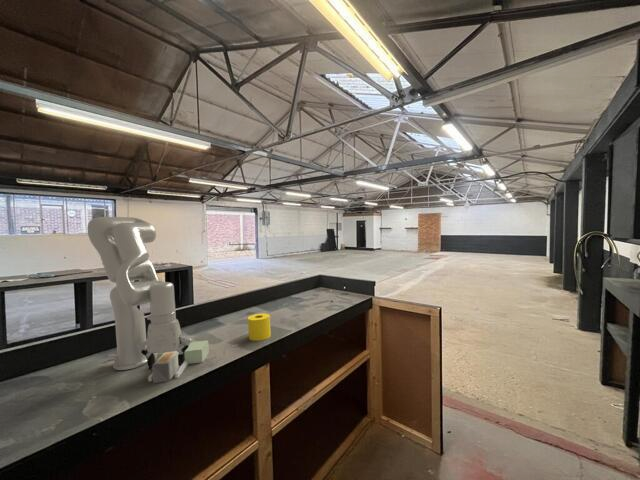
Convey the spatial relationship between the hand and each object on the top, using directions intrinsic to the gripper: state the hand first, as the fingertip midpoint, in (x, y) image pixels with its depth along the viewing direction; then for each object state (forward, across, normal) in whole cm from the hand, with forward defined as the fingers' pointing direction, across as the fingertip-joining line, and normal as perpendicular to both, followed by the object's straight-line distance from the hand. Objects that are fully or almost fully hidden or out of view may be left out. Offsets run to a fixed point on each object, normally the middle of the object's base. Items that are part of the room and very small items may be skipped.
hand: (166, 365), depth 95 cm
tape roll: (+3, +30, +27) cm, 41 cm away
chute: (+3, 0, 0) cm, 3 cm away
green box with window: (+3, +2, +6) cm, 7 cm away
